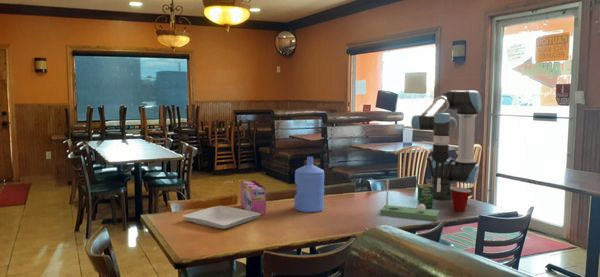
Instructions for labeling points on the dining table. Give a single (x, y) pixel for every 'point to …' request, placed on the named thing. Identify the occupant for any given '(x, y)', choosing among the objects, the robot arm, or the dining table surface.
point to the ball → (421, 208)
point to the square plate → (221, 217)
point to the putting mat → (409, 212)
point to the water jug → (309, 188)
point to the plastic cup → (459, 198)
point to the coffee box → (425, 195)
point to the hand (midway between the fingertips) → (438, 191)
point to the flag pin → (387, 193)
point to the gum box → (253, 197)
